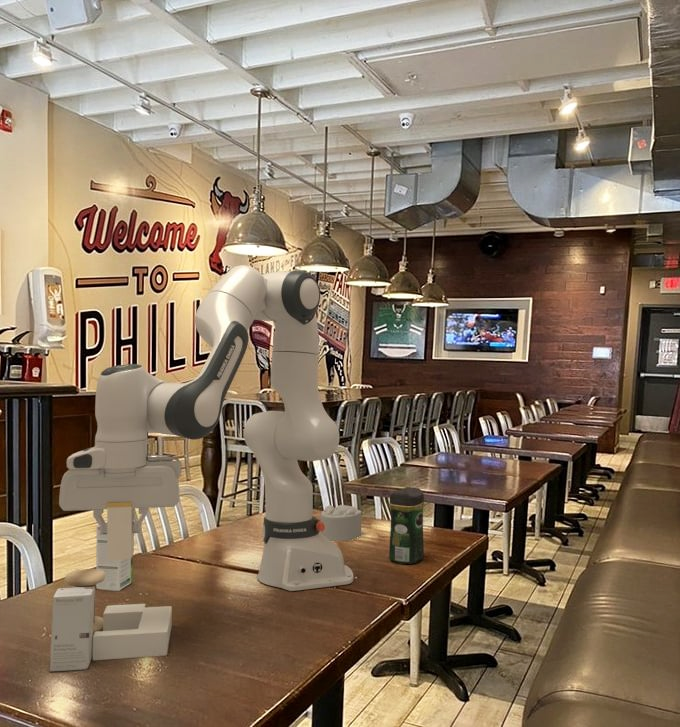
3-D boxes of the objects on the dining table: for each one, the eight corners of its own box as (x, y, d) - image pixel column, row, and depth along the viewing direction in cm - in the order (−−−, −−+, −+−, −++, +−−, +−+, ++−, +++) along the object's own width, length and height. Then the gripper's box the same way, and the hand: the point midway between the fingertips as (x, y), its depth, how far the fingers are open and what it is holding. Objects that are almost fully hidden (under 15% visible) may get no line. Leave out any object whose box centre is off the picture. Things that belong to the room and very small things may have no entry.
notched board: (172, 623, 123) (172, 602, 123) (166, 655, 109) (167, 631, 109) (106, 626, 120) (106, 605, 120) (92, 660, 107) (93, 636, 107)
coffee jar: (400, 552, 172) (401, 483, 172) (427, 557, 168) (428, 487, 168) (383, 561, 164) (385, 489, 164) (412, 567, 160) (413, 492, 160)
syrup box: (119, 591, 139) (120, 525, 139) (94, 589, 140) (96, 523, 140) (132, 583, 145) (134, 519, 145) (109, 581, 146) (110, 517, 146)
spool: (106, 619, 124) (107, 568, 124) (100, 634, 117) (101, 580, 117) (68, 622, 122) (69, 569, 122) (59, 637, 115) (60, 581, 116)
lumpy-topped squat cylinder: (365, 535, 190) (366, 505, 190) (341, 544, 179) (341, 513, 179) (337, 529, 196) (337, 501, 196) (311, 538, 185) (312, 508, 185)
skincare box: (49, 673, 102) (50, 597, 102) (54, 660, 106) (56, 587, 107) (89, 669, 104) (91, 594, 104) (94, 657, 108) (95, 585, 108)
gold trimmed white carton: (134, 552, 116) (134, 497, 116) (131, 559, 112) (131, 502, 112) (110, 553, 115) (110, 498, 115) (106, 560, 111) (107, 503, 111)
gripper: (182, 451, 119) (181, 526, 119) (65, 454, 115) (65, 530, 115) (180, 457, 112) (180, 535, 112) (56, 459, 108) (56, 540, 109)
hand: (120, 533), depth 114 cm, fingers closed on gold trimmed white carton, 4 cm apart
